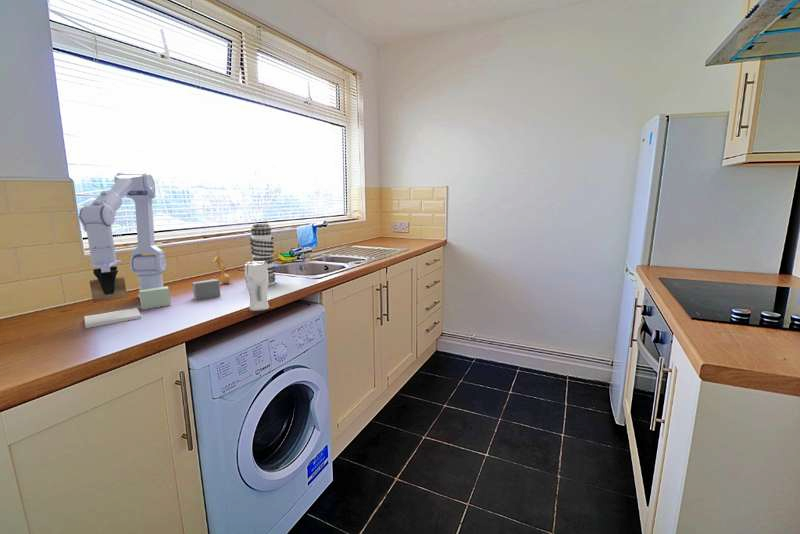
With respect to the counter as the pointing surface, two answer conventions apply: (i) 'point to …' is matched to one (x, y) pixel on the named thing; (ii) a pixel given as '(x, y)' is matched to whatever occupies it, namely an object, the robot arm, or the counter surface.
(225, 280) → the figurine
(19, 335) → the counter surface
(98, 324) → the white mat
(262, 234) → the decorative candle
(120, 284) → the walnut brick
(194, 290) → the grey brick
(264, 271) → the beer glass
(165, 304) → the sage brick
